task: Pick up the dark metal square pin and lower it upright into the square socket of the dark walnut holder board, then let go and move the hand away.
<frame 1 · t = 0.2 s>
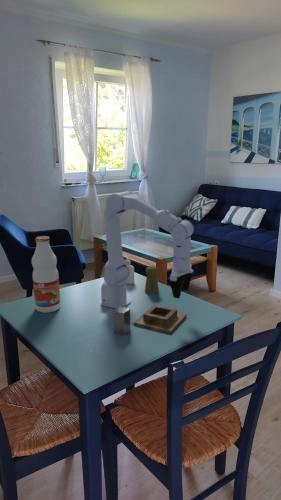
hand: (180, 293, 132), 10 cm above the table, tool pointing down, fingers open, 7 cm apart
cork: (151, 291, 161), on the table
fruit juice: (48, 308, 146), on the table
eye dropper bottle: (128, 283, 171), on the table
socket holder: (160, 320, 135), on the table
metal pin: (122, 331, 127), on the table
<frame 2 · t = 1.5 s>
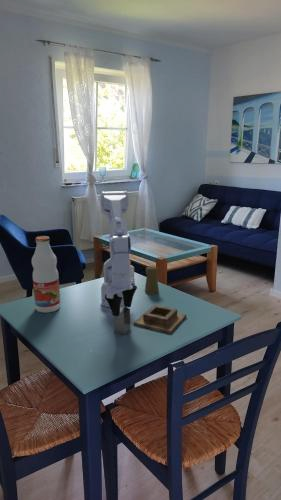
hand: (121, 311, 125), 8 cm above the table, tool pointing down, fingers open, 7 cm apart
nothing on the table moved.
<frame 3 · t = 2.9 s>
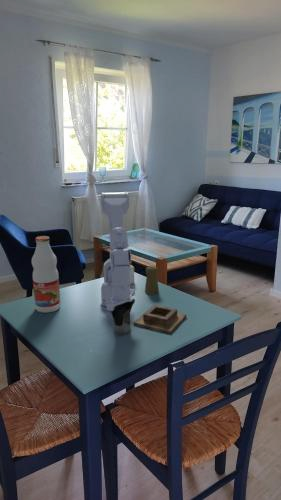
hand: (122, 322, 126), 3 cm above the table, tool pointing down, fingers closed on metal pin, 4 cm apart
metal pin: (122, 331, 127), on the table, touching gripper
everything else where it was.
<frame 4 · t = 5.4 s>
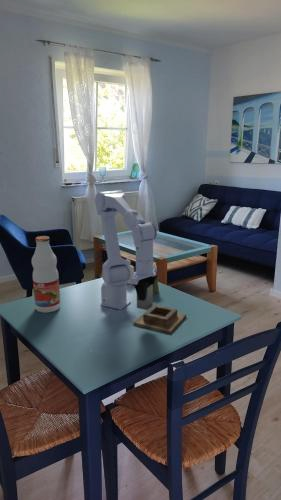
hand: (144, 297, 129), 10 cm above the table, tool pointing down, fingers closed on metal pin, 4 cm apart
metal pin: (144, 306, 130), point 7 cm above the table, touching gripper
everything else where it was.
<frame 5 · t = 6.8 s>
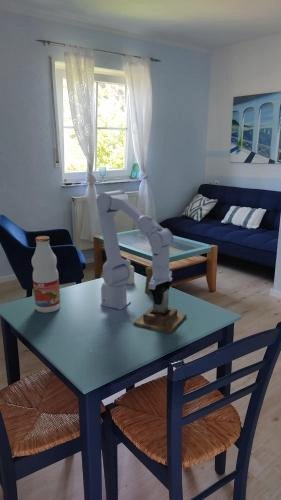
hand: (160, 301, 133), 7 cm above the table, tool pointing down, fingers closed on metal pin, 4 cm apart
metal pin: (160, 310, 134), point 4 cm above the table, touching gripper
everything else where it was.
when the fingers open (5 cm above the table, at t = 8.1 s): metal pin stays where it is, resting on socket holder.
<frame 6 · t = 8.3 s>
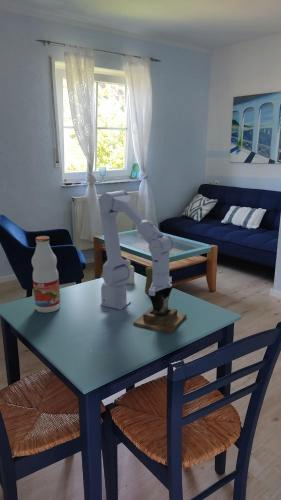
hand: (160, 307, 133), 5 cm above the table, tool pointing down, fingers open, 5 cm apart
metal pin: (160, 318, 134), point 1 cm above the table, touching socket holder
everything else where it was.
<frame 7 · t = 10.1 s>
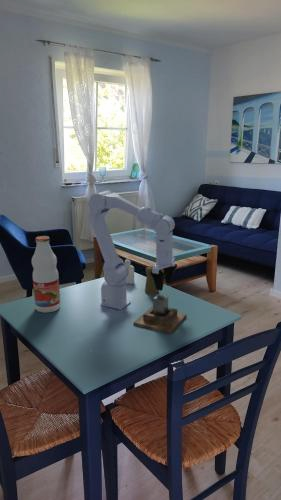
hand: (163, 286, 138), 10 cm above the table, tool pointing down, fingers open, 7 cm apart
nothing on the table moved.
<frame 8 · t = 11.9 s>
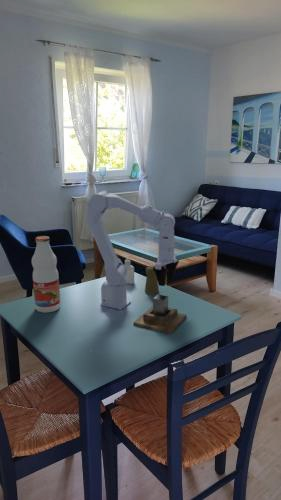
hand: (166, 282, 143), 10 cm above the table, tool pointing down, fingers open, 7 cm apart
nothing on the table moved.
at the end: metal pin 0.1 cm off-centre on the socket holder, point 1.0 cm above the socket holder's base; metal pin tilted 0°; the gripper is holding nothing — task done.
